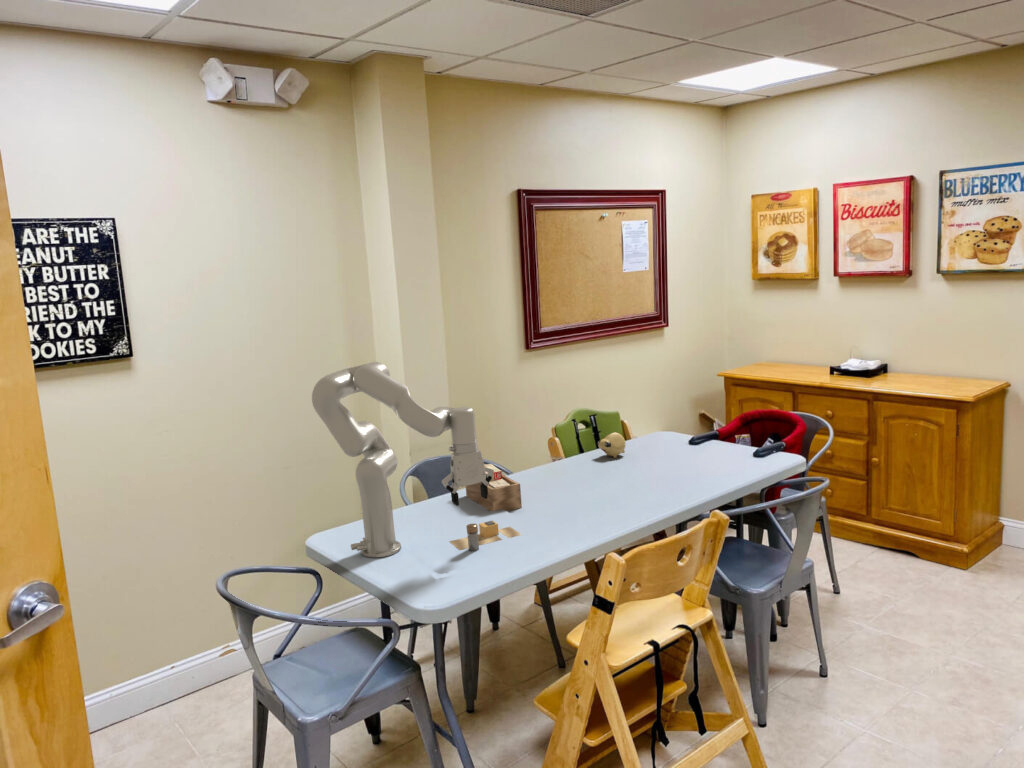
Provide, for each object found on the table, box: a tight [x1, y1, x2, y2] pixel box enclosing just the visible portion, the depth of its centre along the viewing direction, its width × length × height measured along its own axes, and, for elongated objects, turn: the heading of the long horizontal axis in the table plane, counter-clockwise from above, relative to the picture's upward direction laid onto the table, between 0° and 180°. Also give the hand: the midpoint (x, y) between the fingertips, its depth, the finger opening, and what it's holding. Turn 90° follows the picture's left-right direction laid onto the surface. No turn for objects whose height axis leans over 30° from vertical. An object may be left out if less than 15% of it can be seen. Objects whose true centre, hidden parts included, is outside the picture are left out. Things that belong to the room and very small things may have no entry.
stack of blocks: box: [484, 463, 510, 489], centre depth 284 cm, size 21×6×12 cm, turn 20°
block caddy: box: [465, 474, 523, 513], centre depth 285 cm, size 11×26×9 cm, turn 26°
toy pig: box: [597, 431, 626, 459], centre depth 334 cm, size 10×12×11 cm
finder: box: [478, 520, 500, 537], centre depth 249 cm, size 5×4×4 cm
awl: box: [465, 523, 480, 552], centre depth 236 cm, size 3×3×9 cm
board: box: [449, 526, 522, 551], centre depth 246 cm, size 22×9×1 cm, turn 116°
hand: (470, 501), depth 235 cm, fingers open, 9 cm apart
